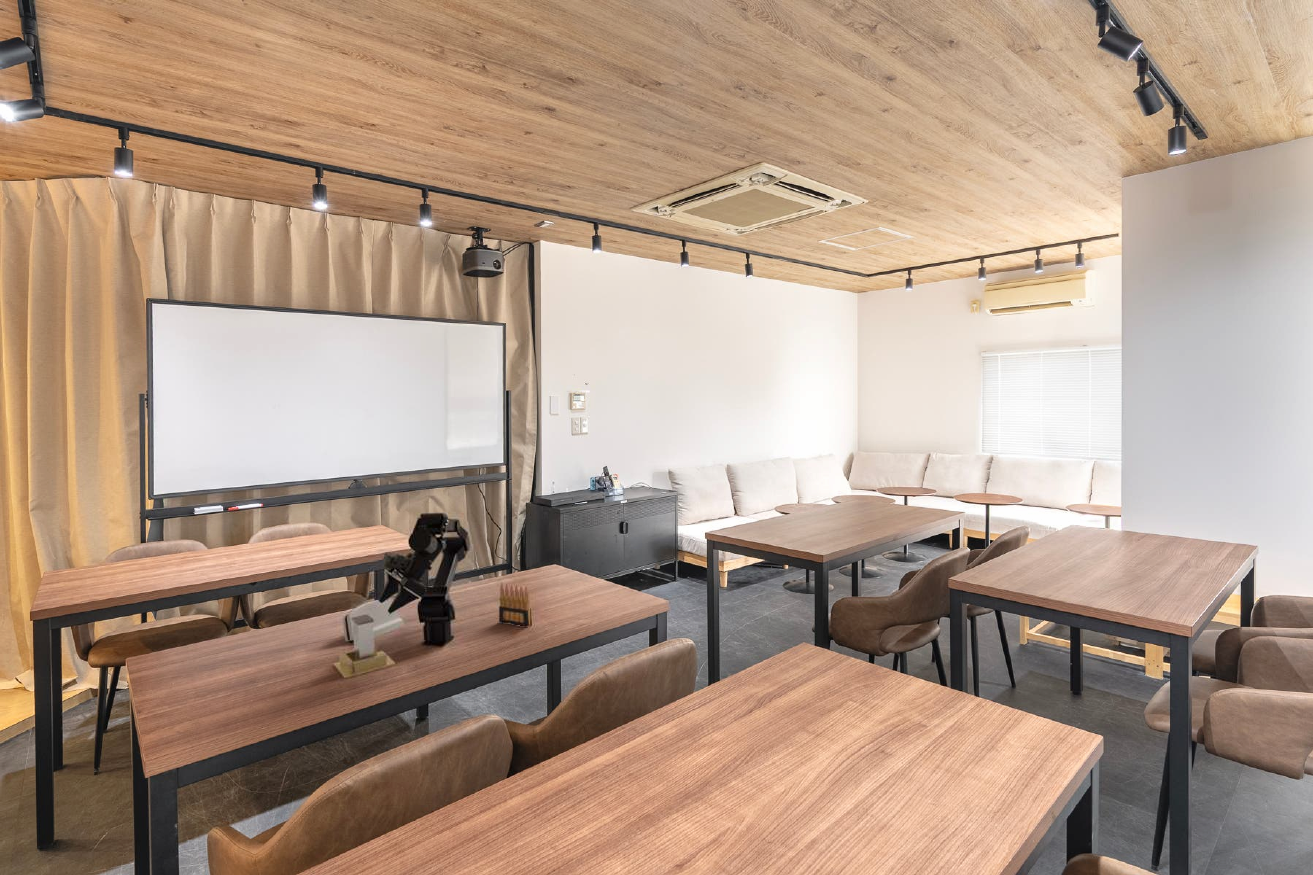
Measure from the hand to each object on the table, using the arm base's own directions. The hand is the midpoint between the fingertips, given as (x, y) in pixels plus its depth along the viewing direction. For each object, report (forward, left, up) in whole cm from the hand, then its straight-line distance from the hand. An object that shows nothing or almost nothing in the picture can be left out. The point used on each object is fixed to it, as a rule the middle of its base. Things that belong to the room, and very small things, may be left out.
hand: (384, 607), depth 168 cm
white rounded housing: (+15, -16, -14) cm, 26 cm away
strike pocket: (+3, +5, -14) cm, 15 cm away
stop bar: (+3, +5, -13) cm, 14 cm away
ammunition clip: (-24, -28, -14) cm, 39 cm away
